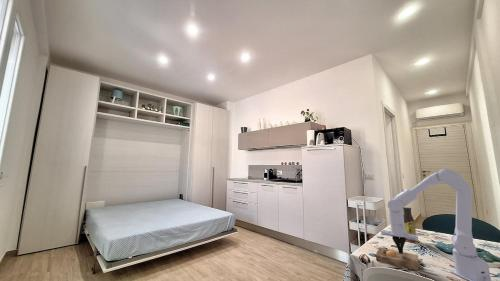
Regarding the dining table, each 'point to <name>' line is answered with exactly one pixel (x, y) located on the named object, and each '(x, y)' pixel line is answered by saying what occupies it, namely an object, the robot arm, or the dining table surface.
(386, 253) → the ball
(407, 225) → the sauce bottle
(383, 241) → the dining table surface
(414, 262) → the board
